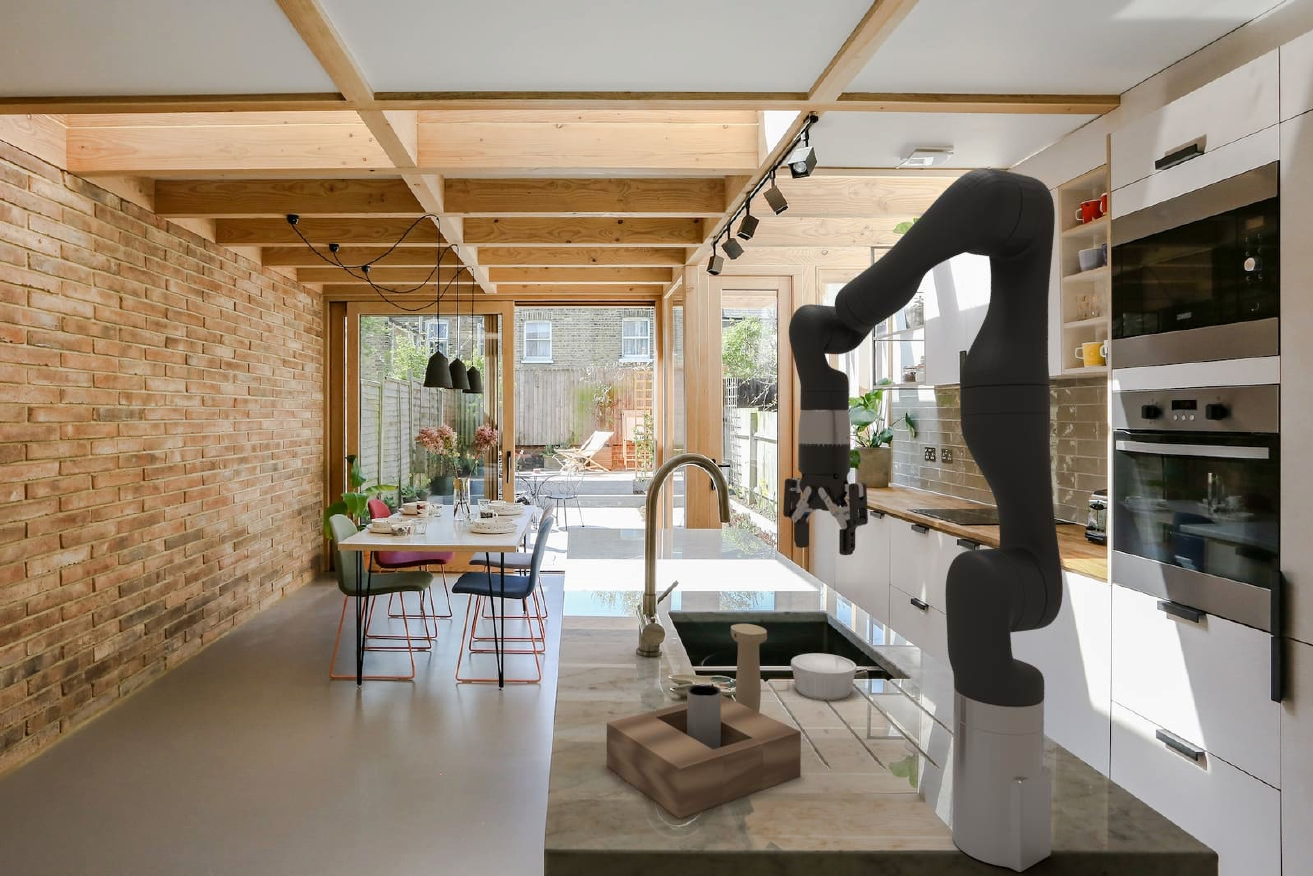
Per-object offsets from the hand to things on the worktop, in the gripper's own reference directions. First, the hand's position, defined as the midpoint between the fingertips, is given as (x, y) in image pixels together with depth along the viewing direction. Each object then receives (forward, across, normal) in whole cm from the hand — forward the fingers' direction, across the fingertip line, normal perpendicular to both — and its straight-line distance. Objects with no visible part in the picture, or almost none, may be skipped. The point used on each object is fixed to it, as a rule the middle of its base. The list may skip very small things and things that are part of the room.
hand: (823, 550), depth 114 cm
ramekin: (+29, +14, -16) cm, 36 cm away
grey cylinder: (+28, +2, +21) cm, 35 cm away
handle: (+28, +11, +5) cm, 31 cm away
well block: (+28, +3, +21) cm, 35 cm away
